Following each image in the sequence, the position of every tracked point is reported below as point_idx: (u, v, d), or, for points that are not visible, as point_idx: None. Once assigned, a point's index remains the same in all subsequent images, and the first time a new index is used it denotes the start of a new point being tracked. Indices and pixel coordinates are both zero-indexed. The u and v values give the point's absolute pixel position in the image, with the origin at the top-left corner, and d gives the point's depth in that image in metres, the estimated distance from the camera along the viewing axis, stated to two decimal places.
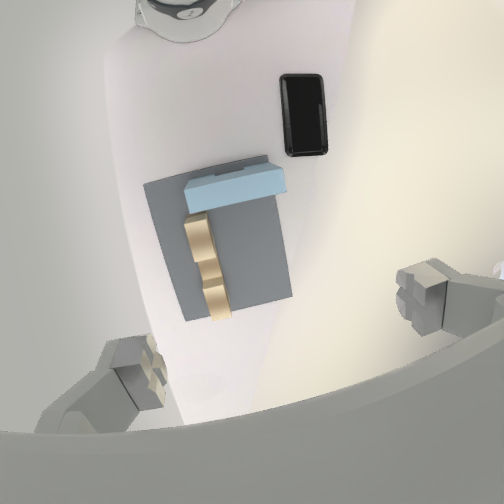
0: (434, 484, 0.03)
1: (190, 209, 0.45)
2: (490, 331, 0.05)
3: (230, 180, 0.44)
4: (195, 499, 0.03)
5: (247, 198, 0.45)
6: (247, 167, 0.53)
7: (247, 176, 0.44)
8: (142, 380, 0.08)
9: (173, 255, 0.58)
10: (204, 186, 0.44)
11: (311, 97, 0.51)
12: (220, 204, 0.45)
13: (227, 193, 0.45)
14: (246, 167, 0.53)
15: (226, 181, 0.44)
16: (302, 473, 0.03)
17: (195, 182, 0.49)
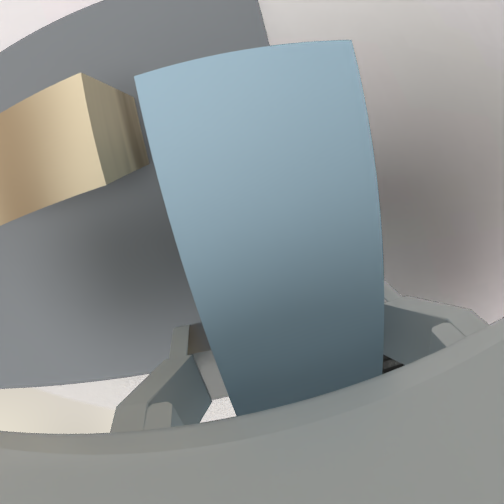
0: (434, 485, 0.03)
1: (176, 78, 0.04)
2: (491, 331, 0.05)
3: (375, 364, 0.07)
4: (195, 499, 0.03)
5: None
6: None
7: None
8: None
9: (10, 72, 0.12)
10: (371, 205, 0.05)
11: None
12: (221, 328, 0.06)
13: (299, 363, 0.06)
14: None
15: (375, 346, 0.06)
16: (302, 473, 0.03)
17: None
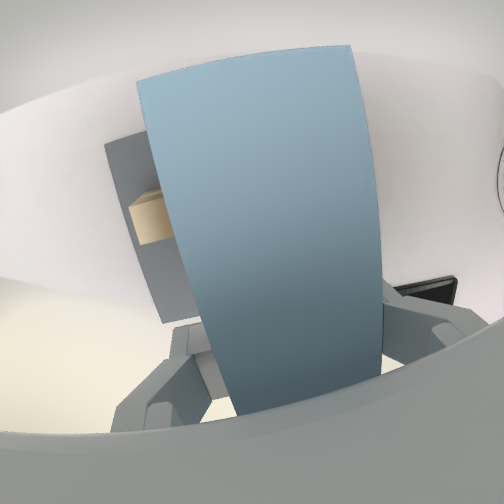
0: (434, 484, 0.03)
1: (177, 84, 0.04)
2: (491, 331, 0.05)
3: (374, 365, 0.07)
4: (195, 499, 0.03)
5: None
6: None
7: None
8: None
9: None
10: (369, 209, 0.05)
11: None
12: (222, 329, 0.06)
13: (299, 364, 0.06)
14: None
15: (374, 347, 0.07)
16: (302, 473, 0.03)
17: None
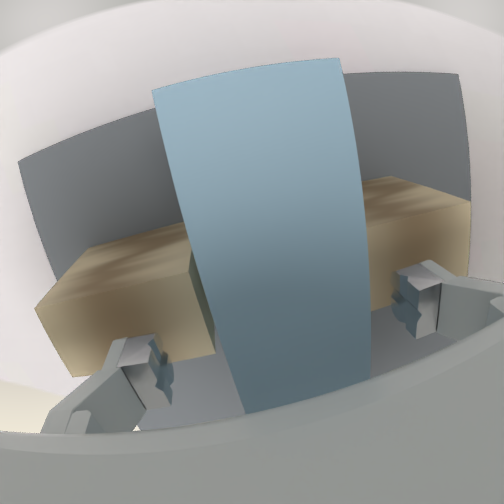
0: (434, 484, 0.03)
1: (188, 93, 0.05)
2: (491, 331, 0.05)
3: (364, 346, 0.08)
4: (195, 499, 0.03)
5: None
6: None
7: None
8: (150, 379, 0.08)
9: None
10: (356, 202, 0.06)
11: None
12: (225, 309, 0.07)
13: (294, 343, 0.07)
14: None
15: (363, 329, 0.07)
16: (302, 473, 0.03)
17: None
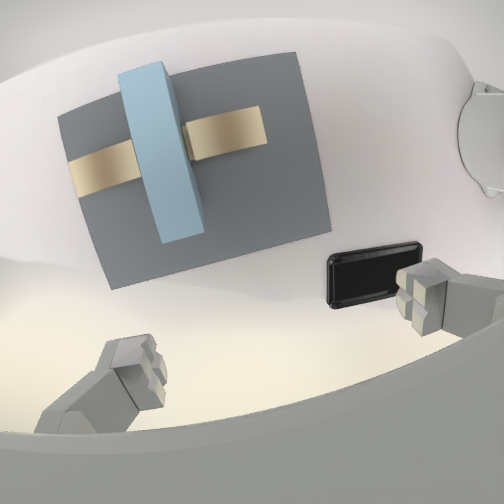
0: (434, 484, 0.03)
1: (125, 74, 0.20)
2: (491, 331, 0.05)
3: (177, 140, 0.23)
4: (195, 499, 0.03)
5: (146, 173, 0.23)
6: (194, 173, 0.33)
7: (185, 171, 0.24)
8: (142, 380, 0.08)
9: (176, 90, 0.31)
10: (166, 95, 0.21)
11: (395, 281, 0.43)
12: (133, 126, 0.22)
13: (153, 137, 0.22)
14: (193, 171, 0.33)
15: (175, 133, 0.22)
16: (302, 473, 0.03)
17: (171, 88, 0.26)
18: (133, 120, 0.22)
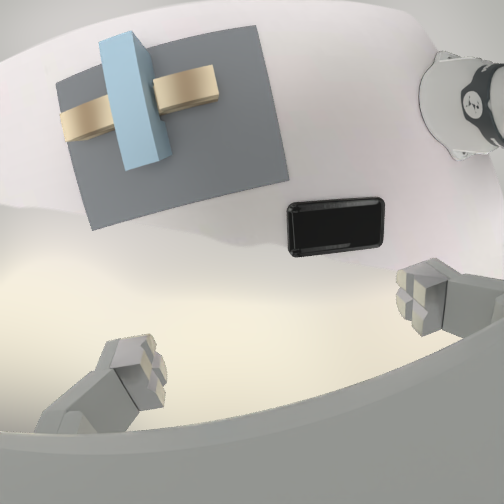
0: (434, 484, 0.03)
1: (104, 41, 0.24)
2: (490, 331, 0.05)
3: (140, 88, 0.26)
4: (195, 499, 0.03)
5: (115, 114, 0.27)
6: (163, 125, 0.36)
7: (145, 111, 0.27)
8: (142, 380, 0.08)
9: (153, 59, 0.34)
10: (134, 55, 0.25)
11: (357, 234, 0.46)
12: (107, 79, 0.25)
13: (122, 87, 0.26)
14: (163, 124, 0.37)
15: (139, 83, 0.26)
16: (302, 473, 0.03)
17: (143, 54, 0.29)
18: (108, 75, 0.25)
